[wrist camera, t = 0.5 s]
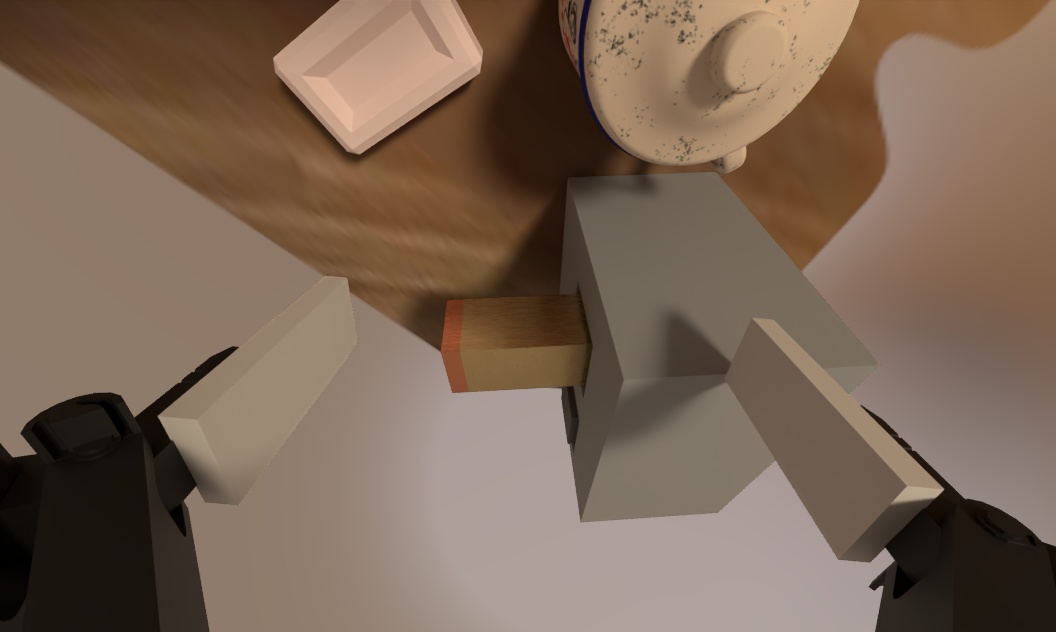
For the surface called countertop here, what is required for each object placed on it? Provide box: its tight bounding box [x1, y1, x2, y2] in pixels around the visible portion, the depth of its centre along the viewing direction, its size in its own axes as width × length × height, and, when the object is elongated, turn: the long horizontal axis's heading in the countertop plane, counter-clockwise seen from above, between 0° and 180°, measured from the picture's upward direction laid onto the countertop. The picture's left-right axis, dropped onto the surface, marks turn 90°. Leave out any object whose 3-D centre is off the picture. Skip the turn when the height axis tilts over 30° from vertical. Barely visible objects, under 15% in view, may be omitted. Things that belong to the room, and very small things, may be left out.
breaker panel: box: [560, 172, 880, 522], centre depth 27 cm, size 18×10×16 cm, turn 1°
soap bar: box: [273, 0, 483, 154], centre depth 19 cm, size 5×9×2 cm, turn 119°
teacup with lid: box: [559, 0, 859, 174], centre depth 16 cm, size 12×9×12 cm
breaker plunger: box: [441, 294, 593, 393], centre depth 23 cm, size 4×10×4 cm, turn 91°
